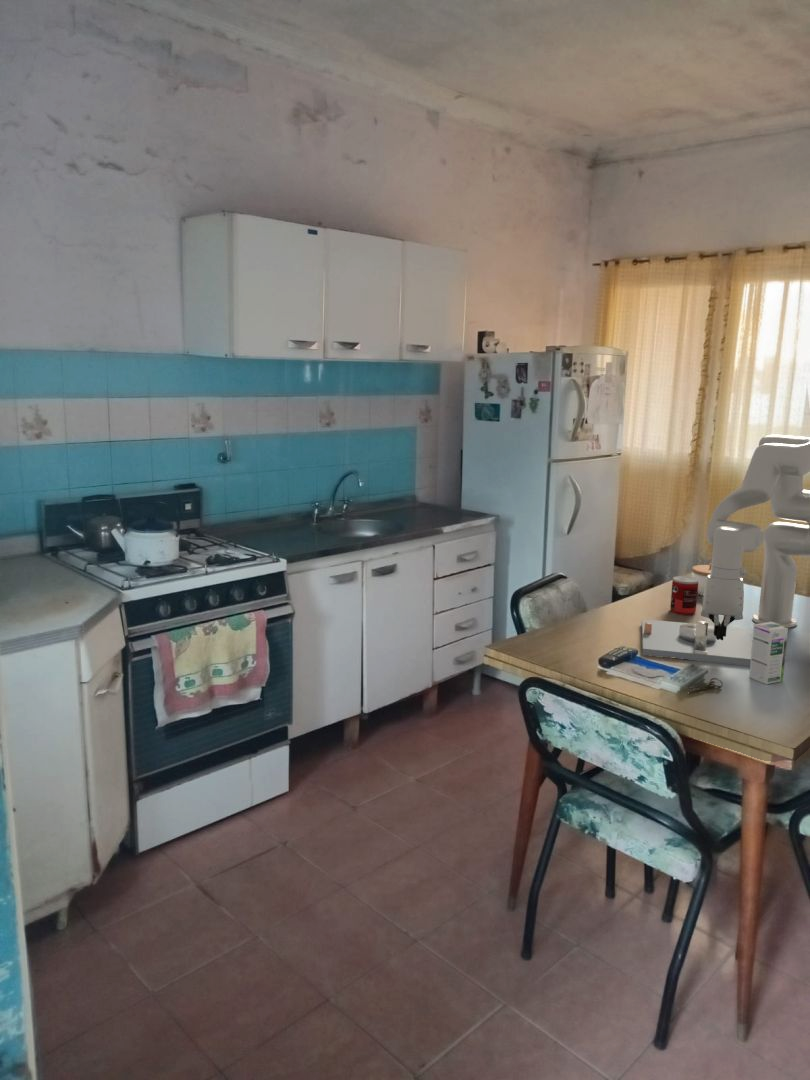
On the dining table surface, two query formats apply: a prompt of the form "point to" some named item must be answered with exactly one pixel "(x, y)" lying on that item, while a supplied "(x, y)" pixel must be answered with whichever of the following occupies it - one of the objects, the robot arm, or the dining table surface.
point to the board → (667, 643)
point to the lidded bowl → (701, 575)
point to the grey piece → (697, 634)
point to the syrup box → (768, 652)
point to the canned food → (684, 595)
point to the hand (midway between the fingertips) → (719, 638)
